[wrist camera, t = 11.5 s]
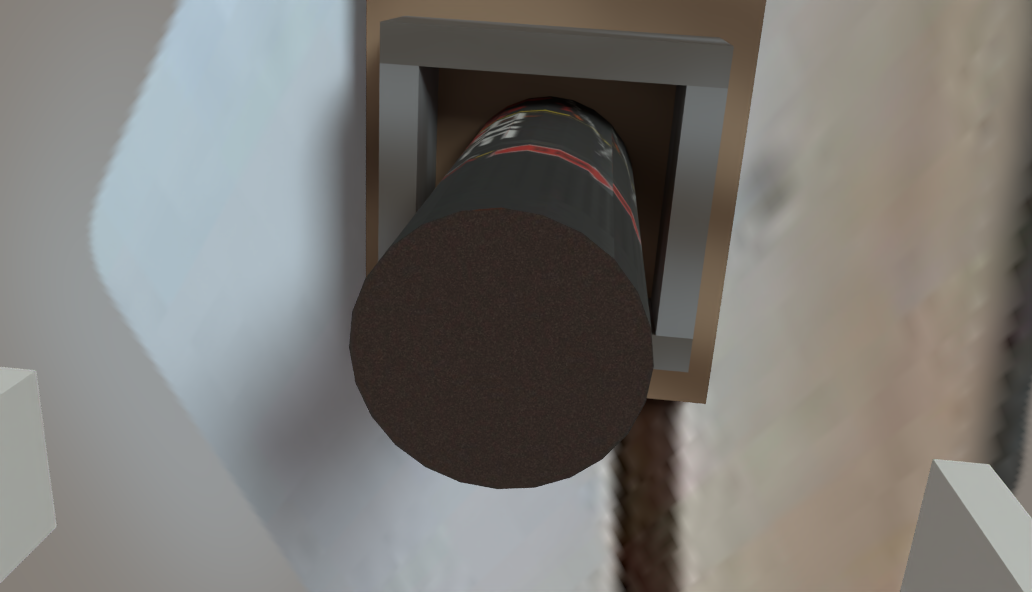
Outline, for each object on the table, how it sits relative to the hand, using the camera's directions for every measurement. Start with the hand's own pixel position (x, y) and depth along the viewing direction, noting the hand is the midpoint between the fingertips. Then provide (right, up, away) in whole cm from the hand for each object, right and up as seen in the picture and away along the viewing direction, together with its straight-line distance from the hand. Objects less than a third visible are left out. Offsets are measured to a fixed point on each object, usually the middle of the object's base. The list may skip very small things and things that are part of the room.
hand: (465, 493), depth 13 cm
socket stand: (+2, +7, +20) cm, 21 cm away
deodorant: (+2, +7, +18) cm, 20 cm away
